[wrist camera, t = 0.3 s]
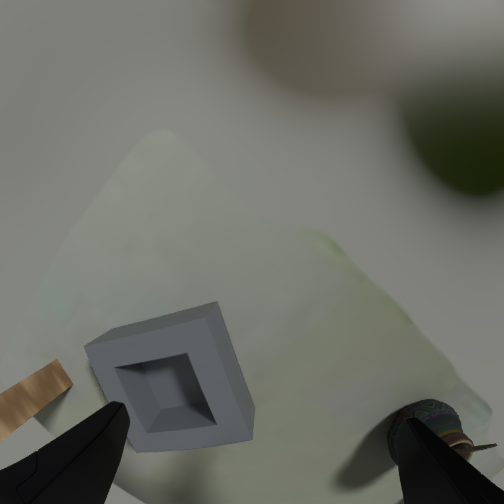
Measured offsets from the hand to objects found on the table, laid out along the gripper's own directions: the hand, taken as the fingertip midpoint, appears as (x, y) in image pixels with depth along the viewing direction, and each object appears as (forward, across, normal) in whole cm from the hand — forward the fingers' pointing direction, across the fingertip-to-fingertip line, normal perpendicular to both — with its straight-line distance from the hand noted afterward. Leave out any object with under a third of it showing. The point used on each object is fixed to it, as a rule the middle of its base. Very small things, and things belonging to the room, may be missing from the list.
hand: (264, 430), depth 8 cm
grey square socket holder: (+13, +7, +10) cm, 18 cm away
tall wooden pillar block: (+12, +21, +13) cm, 28 cm away
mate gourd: (+12, -15, +15) cm, 25 cm away
